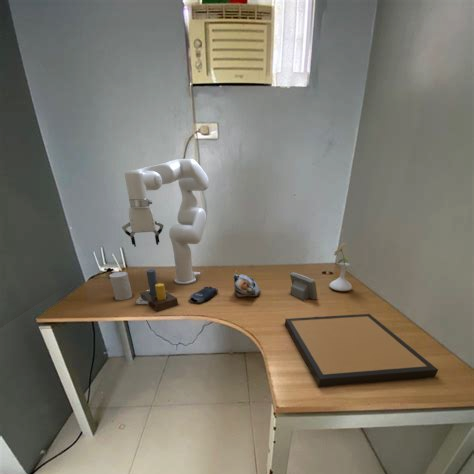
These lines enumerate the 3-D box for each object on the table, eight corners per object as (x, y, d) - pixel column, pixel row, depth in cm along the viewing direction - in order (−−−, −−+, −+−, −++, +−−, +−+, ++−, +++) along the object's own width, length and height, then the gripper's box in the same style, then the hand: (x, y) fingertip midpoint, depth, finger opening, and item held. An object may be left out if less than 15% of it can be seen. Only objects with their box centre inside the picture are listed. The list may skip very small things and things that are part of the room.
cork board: (318, 386, 71) (434, 377, 74) (320, 379, 70) (438, 369, 73) (284, 324, 103) (367, 319, 106) (285, 318, 101) (369, 313, 104)
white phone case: (151, 304, 121) (161, 292, 134) (150, 301, 120) (160, 290, 134) (136, 304, 122) (147, 292, 135) (135, 301, 121) (147, 289, 134)
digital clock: (318, 300, 124) (321, 279, 119) (302, 302, 121) (305, 281, 116) (300, 288, 137) (302, 269, 132) (285, 291, 135) (287, 271, 130)
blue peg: (157, 297, 129) (153, 268, 122) (161, 299, 126) (156, 270, 119) (150, 299, 127) (144, 270, 120) (153, 301, 124) (148, 272, 117)
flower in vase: (339, 284, 143) (348, 238, 131) (356, 290, 134) (366, 242, 122) (321, 288, 138) (329, 241, 126) (337, 295, 129) (347, 245, 117)
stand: (161, 293, 133) (160, 287, 132) (178, 304, 121) (177, 298, 119) (141, 299, 127) (139, 292, 126) (156, 311, 115) (155, 304, 113)
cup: (126, 300, 126) (120, 277, 120) (111, 299, 127) (105, 276, 122) (135, 294, 133) (130, 272, 127) (121, 293, 134) (116, 271, 129)
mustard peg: (164, 302, 124) (161, 282, 119) (168, 304, 121) (165, 285, 116) (156, 304, 122) (153, 284, 117) (160, 307, 119) (157, 287, 114)
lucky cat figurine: (265, 294, 130) (263, 276, 119) (247, 308, 127) (243, 290, 116) (247, 279, 138) (243, 260, 127) (230, 291, 135) (224, 273, 124)
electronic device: (202, 293, 136) (185, 300, 123) (204, 283, 134) (186, 289, 121) (217, 298, 133) (201, 306, 120) (219, 288, 131) (203, 295, 118)
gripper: (159, 202, 113) (164, 242, 121) (117, 204, 107) (125, 245, 115) (161, 203, 106) (166, 245, 114) (117, 205, 101) (125, 248, 109)
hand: (146, 245), depth 115 cm, fingers open, 9 cm apart
